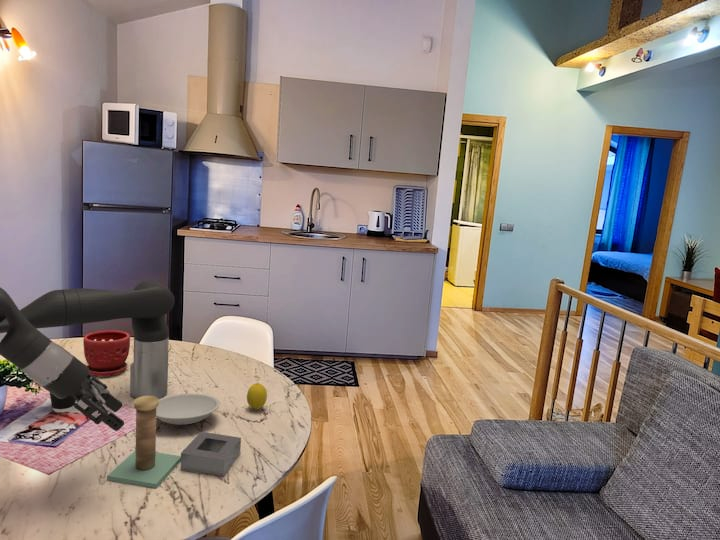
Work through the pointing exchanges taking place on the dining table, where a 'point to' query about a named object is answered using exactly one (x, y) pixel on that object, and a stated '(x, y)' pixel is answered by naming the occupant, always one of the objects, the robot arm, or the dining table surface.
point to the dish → (186, 408)
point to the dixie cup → (62, 403)
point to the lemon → (256, 396)
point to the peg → (145, 432)
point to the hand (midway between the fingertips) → (120, 417)
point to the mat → (147, 478)
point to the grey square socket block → (211, 454)
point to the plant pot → (106, 352)
